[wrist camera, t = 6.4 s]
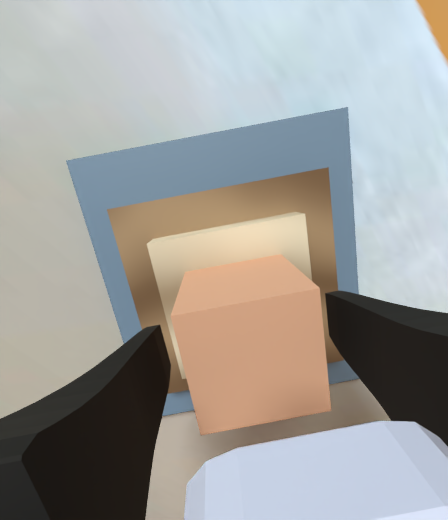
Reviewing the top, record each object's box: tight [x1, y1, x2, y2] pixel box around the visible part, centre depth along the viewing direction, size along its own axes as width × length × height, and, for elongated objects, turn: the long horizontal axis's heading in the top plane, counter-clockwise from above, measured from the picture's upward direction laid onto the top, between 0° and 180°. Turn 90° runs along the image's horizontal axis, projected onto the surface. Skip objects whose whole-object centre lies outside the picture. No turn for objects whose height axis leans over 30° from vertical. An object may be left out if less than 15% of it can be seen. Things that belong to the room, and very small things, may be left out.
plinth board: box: [66, 107, 360, 416], centre depth 16 cm, size 18×16×4 cm
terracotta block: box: [171, 254, 331, 435], centre depth 12 cm, size 5×5×5 cm
